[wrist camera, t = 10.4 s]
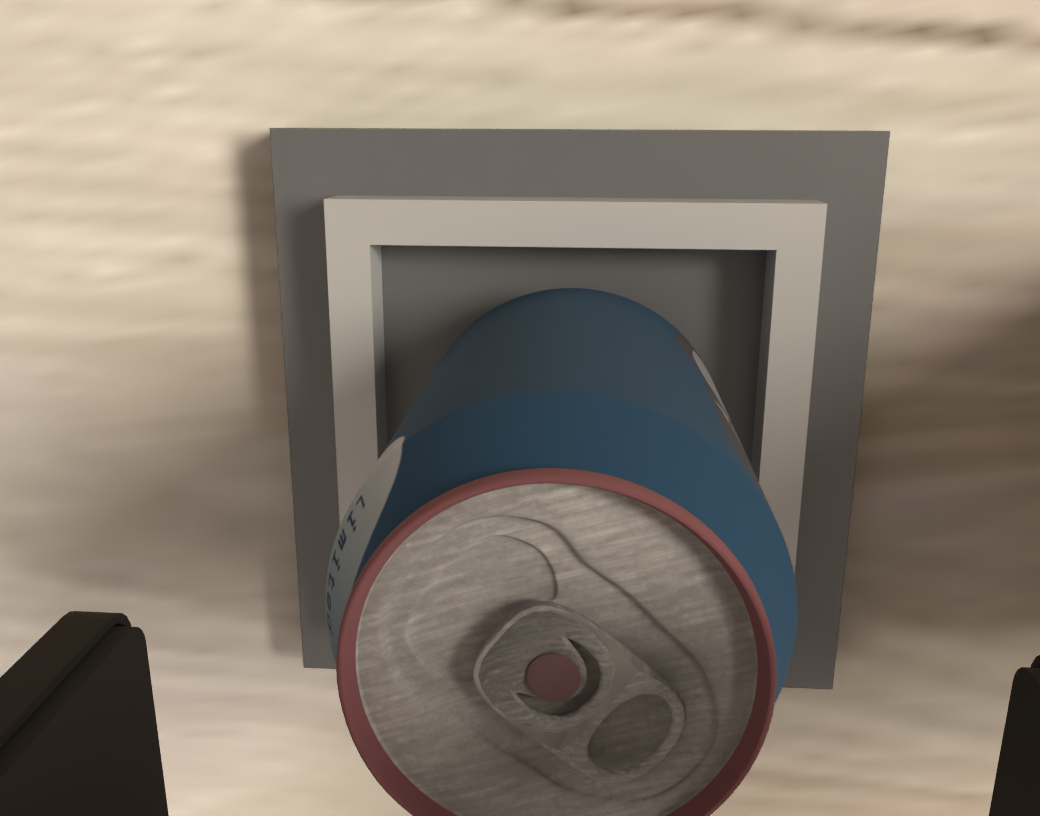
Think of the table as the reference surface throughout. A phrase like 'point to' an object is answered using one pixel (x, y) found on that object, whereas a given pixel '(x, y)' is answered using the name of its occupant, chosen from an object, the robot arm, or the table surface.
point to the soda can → (562, 577)
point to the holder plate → (590, 265)
